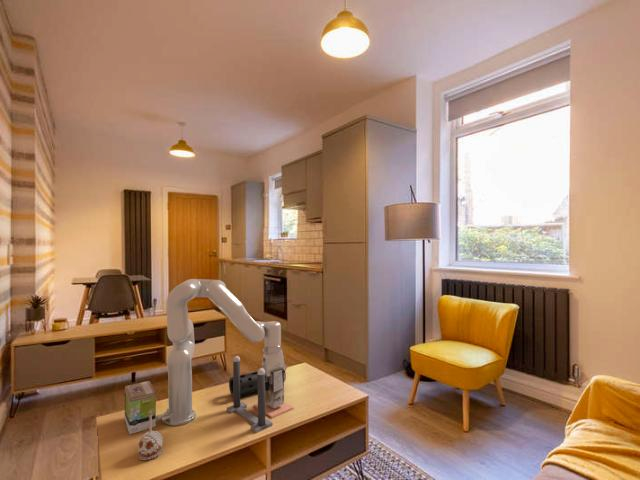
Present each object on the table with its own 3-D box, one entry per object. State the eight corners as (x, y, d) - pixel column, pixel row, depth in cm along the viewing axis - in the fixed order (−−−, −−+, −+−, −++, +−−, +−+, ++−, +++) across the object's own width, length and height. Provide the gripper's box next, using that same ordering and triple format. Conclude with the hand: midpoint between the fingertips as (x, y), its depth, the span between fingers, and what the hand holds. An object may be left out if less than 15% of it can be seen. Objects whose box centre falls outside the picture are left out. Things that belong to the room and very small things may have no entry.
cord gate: (255, 433, 132) (255, 372, 133) (226, 410, 151) (226, 357, 151) (272, 425, 138) (272, 367, 138) (242, 404, 156) (242, 353, 156)
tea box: (156, 426, 138) (156, 391, 138) (129, 435, 132) (129, 398, 132) (149, 412, 150) (149, 379, 150) (124, 419, 144) (123, 385, 144)
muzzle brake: (228, 394, 167) (228, 374, 167) (278, 381, 182) (278, 362, 183) (235, 402, 159) (235, 380, 159) (286, 387, 174) (286, 367, 175)
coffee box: (284, 403, 152) (284, 368, 152) (273, 408, 147) (273, 372, 148) (272, 397, 158) (272, 363, 159) (261, 402, 154) (261, 367, 154)
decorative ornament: (133, 460, 116) (133, 417, 116) (147, 447, 124) (148, 406, 124) (153, 462, 115) (153, 419, 115) (166, 449, 123) (167, 408, 123)
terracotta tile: (271, 418, 143) (271, 416, 143) (253, 406, 154) (253, 404, 154) (293, 408, 151) (293, 407, 152) (274, 397, 163) (274, 396, 163)
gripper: (261, 355, 145) (261, 396, 144) (292, 346, 156) (292, 384, 156) (252, 351, 150) (252, 390, 150) (283, 343, 162) (283, 379, 162)
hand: (272, 387), depth 153 cm, fingers closed on coffee box, 6 cm apart
